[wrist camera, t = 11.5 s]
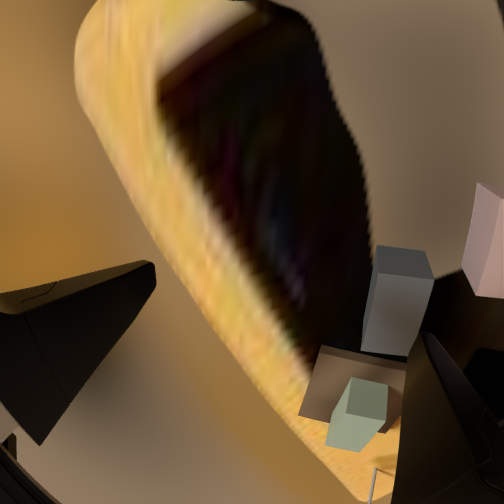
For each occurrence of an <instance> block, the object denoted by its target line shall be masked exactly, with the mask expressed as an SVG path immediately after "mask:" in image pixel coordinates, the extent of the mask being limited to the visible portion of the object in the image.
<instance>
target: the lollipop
mask: <svg viewBox="0 0 504 504" xmlns="http://www.w3.org/2000/svg"><path fill="white" fill-rule="evenodd" d="M376 473H377V468H374V472H373V478H372V483H371V489H370V494H369V499H368V504H371V501H372V496H373V490H374V485H375V479H376Z"/></svg>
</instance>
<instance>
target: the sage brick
mask: <svg viewBox="0 0 504 504" xmlns="http://www.w3.org/2000/svg"><path fill="white" fill-rule="evenodd" d="M387 398H388V385H385V384H381V383H376V382H371V381H367V380H363V379H358V378H354V377H351V379H350V381H349V383H348V385H347V387H346V389H345V391H344V393H343V395H342V397H341V398H340V400H339V402H338V404H337V406H336V407H335V409H334V411H333V413H332V417H331V421H330V425H329V429H328V433H327V437H326V441H325V445H326V446H330V447H335V448H339V449H344V450H349V451H355V452H360V451H361V450H362V449H363V448H364V446H365V445H366V444H367V443H368V442H369V441H370V440H371V439H372V437H373V436H374V435H375V434H376V433H377V431H378V430H379V429H380V428H381V427H382V425H383V424H384V423H385V422H386V414H387Z"/></svg>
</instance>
